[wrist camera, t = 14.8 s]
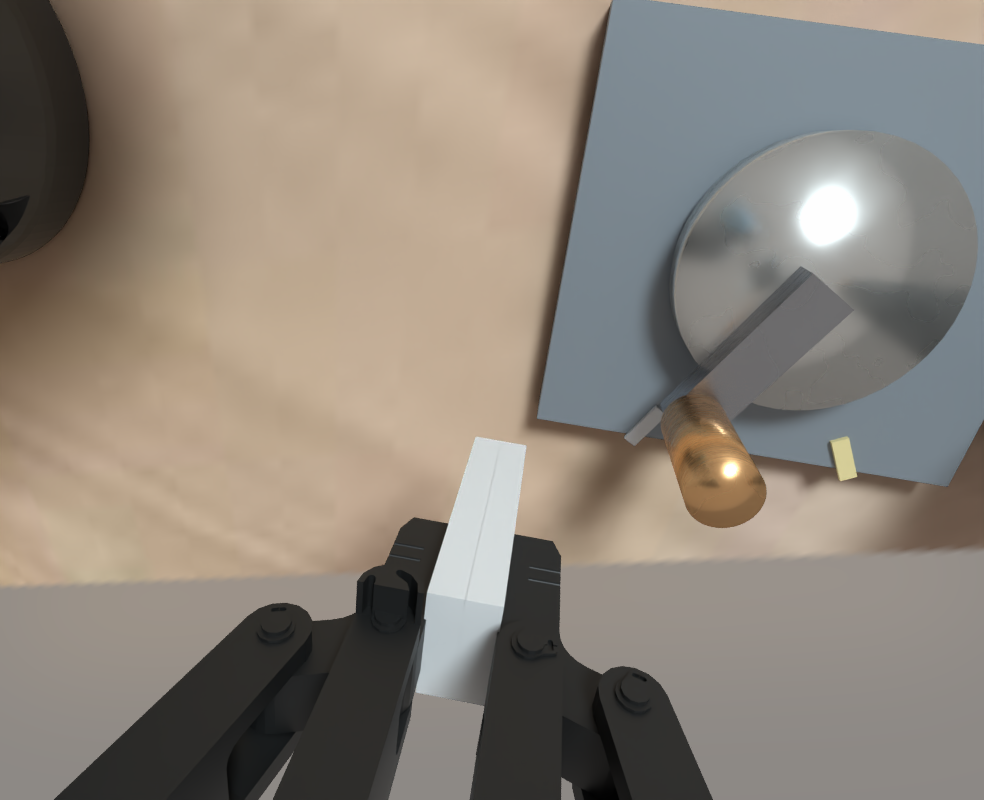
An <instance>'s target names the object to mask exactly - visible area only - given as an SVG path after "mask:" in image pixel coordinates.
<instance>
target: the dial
mask: <svg viewBox="0 0 984 800" xmlns="http://www.w3.org/2000/svg"><path fill="white" fill-rule="evenodd" d="M977 253H978V237H977V227H976V221H975V216H974V212H973V209H972V206H971V203H970V201H969V198H968V195H967V194H966V192H965V190H964V188H963V187H962V185H961V183H960V181H959V180H958V178H957V177H956V176H955V175H954V174H953V172H952V171H951V170H950V169H949V168H948V167H947V165H946V164H944V163H943V162H942V161H941V160H940V159H939V158H937V157H936V156H935V155H934V154H933V153H931V152H929V151H928V150H926V149H924V148H923V147H921V146H919V145H918V144H916V143H914V142H911V141H908V140H906V139H903V138H901V137H898V136H895V135H890V134H885V133H881V132H876V131H862V130H829V131H815V132H810V133H805V134H800V135H796V136H793V137H790V138H787V139H784V140H781V141H778V142H775V143H773V144H771V145H769V146H767V147H764V148H762V149H760V150H758V151H756V152H755V153H753V154H751V155H750V156H748V157H747V158H745V159H743V160H742V161H740V162H739V163H738V164H736V165H735V166H734V167H732V168H731V169H730V170H729V171H727V172H726V173H725V174H724V175H723V176H722V177H721V178H720V179H719V180H718V181H717V182H716V183H715V184H714V185H713V186H712V187H711V188H710V189H709V190H708V191H707V192H706V194H705V195H704V196H703V197H702V199H701V200H700V201H699V202H698V204H697V205H696V207H695V208H694V210H693V211H692V213H691V215H690V216H689V218H688V219H687V221H686V223H685V225H684V228H683V230H682V232H681V234H680V236H679V239H678V242H677V245H676V248H675V251H674V254H673V259H672V264H671V270H670V283H669V291H670V304H671V308H672V313H673V317H674V321H675V323H676V326H677V328H678V331H679V334H680V335H681V337H682V339H683V341H684V342H685V344H686V346H687V348H688V350H689V351H690V353H691V355H692V357H693V358H694V360H695V361H696V363H697V364H698V365H699V366H697V367H696V368H695V369H694V370H693V371H692V372H691V373H690V374H689V375H688V376H687V377H686V378H685V379H684V380H683V381H682V382H681V383H680V384H679V385H678V386H677V387H676V388H675V389H674V390H673V391H672V392H671V393H670V394H669V395H668V396H667V397H666V398H665V399H664V400H663V401H662V402H661V403H660V406H661V409H662V411H663V415H662V418H661V431H662V434H663V437H664V440H665V443H666V446H667V450H668V453H669V456H670V459H671V462H672V465H673V468H674V471H675V474H676V477H677V481H678V484H679V487H680V490H681V493H682V496H683V499H684V502H685V505H686V508H687V510H688V512H689V513H690V514H691V516H692V517H693V518H695V519H696V520H697V521H699V522H700V523H702V524H704V525H707V526H711V527H716V528H728V527H734V526H737V525H740V524H743V523H745V522H747V521H748V520H750V519H751V518H753V517H754V516H755V515H756V514H757V513H758V512H759V511H760V509H761V508H762V506H763V504H764V502H765V499H766V485H765V482H764V480H763V478H762V476H761V474H760V473H759V471H758V469H757V467H756V466H755V464H754V462H753V460H752V459H751V457H750V455H749V453H748V452H747V450H746V448H745V446H744V445H743V443H742V441H741V439H740V438H739V436H738V434H737V432H736V430H735V429H734V427H733V425H732V423H731V422H730V421H731V420H733V419H734V418H735V417H736V416H737V415H738V414H739V413H740V412H742V411H743V410H744V409H745V408H746V407H747V406H748V405H749V404H750V403H754V404H757V405H760V406H765V407H769V408H774V409H782V410H815V409H823V408H829V407H834V406H838V405H842V404H846V403H849V402H852V401H855V400H858V399H861V398H864V397H866V396H868V395H870V394H872V393H874V392H877V391H879V390H881V389H883V388H884V387H886V386H888V385H889V384H891V383H893V382H895V381H896V380H898V379H899V378H901V377H902V376H903V375H905V374H906V373H907V372H909V371H910V370H912V369H913V368H914V367H915V366H916V365H917V364H919V363H920V362H921V361H922V360H923V359H924V358H925V357H926V356H927V355H929V353H930V352H931V351H932V350H933V349H934V348H935V347H936V346H937V344H938V343H939V342H940V341H941V340H942V339H943V337H944V336H945V335H946V333H947V332H948V330H949V329H950V328H951V326H952V325H953V323H954V322H955V320H956V318H957V316H958V314H959V313H960V311H961V309H962V307H963V305H964V303H965V300H966V298H967V295H968V293H969V290H970V288H971V285H972V281H973V277H974V273H975V269H976V261H977Z"/></svg>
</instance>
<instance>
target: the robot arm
mask: <svg viewBox="0 0 984 800" xmlns="http://www.w3.org/2000/svg"><path fill="white" fill-rule="evenodd" d="M88 152H89V128H88V116H87V108H86V102H85V96H84V91H83V87H82V83H81V78H80V75H79V71H78V68H77V65H76V61H75V59H74V56H73V53H72V50H71V47H70V45H69V42H68V40H67V38H66V35H65V33H64V30H63V28H62V26H61V24H60V22H59V20H58V18H57V16H56V14H55V12H54V10H53V8H52V6H51V5H50V3H49V1H48V0H0V263H4V262H8V261H12V260H15V259H18V258H21V257H24V256H26V255H28V254H30V253H32V252H34V251H36V250H37V249H39V248H41V247H42V246H43V245H45V244H46V243H47V242H48V241H50V240H51V239H52V238H53V237H54V236H55V235H56V234H57V233H58V232H59V231H60V229H61V228H62V227H63V226H64V224H65V223H66V222H67V220H68V219H69V217H70V215H71V213H72V212H73V210H74V208H75V206H76V203H77V201H78V199H79V196H80V193H81V190H82V187H83V183H84V179H85V175H86V169H87V163H88ZM526 446H527V445H521V444H515V443H509V442H503V441H498V440H492V439H486V438H480V437H476V438H475V441H474V444H473V447H472V450H471V454H470V457H469V460H468V463H467V466H466V470H465V473H464V476H463V479H462V482H461V486H460V489H459V492H458V495H457V498H456V502H455V505H454V508H453V511H452V514H451V517H450V521H449V524H447V523H442V522H436V521H431V520H425V519H420V518H413V519H411V520H410V521H409V522H408V523H406V524H405V525H404V526H403V527H401V528H400V531H399V533H398V535H397V538H396V540H395V543H394V545H393V547H392V549H391V552H390V555H389V556H388V558H387V561H386V563H385V565H382V566H377V567H373V568H372V569H370V570H368V571H366V572H365V573H363V575H362V576H361V577H360V578H359V580H358V581H357V597H356V613H354V614H352V615H349V616H347V617H344V618H339V619H333V620H322V621H312V619H311V617H310V615H309V614H308V612H307V611H306V610H304V609H302V608H301V607H300V606H297V605H293V604H288V603H277V604H271V605H267V606H265V607H262V608H259V609H257V610H256V611H255V612H253V613H252V614H250V615H249V616H247V617H246V618H245V619H244V620H243V621H242V622H241V623H240V624H239V625H238V626H237V627H236V628H235V629H234V630H233V631H232V632H231V633H229V635H227V636H226V637H225V638H224V639H223V640H222V641H221V642H220V643H219V644H218V645H217V646H216V647H215V648H214V649H213V650H211V651H210V653H208V654H207V655H206V656H205V657H204V658H203V659H202V660H201V661H200V662H199V663H198V664H197V665H196V666H195V667H194V668H192V669H191V670H190V671H189V672H188V673H187V674H186V675H185V676H184V677H183V678H182V679H181V680H180V681H179V682H178V683H177V684H176V685H175V686H173V688H171V689H170V690H169V691H168V692H167V693H166V694H165V695H164V696H163V697H162V698H161V699H160V700H159V701H158V702H156V704H154V705H153V706H152V707H151V708H150V709H149V710H148V711H147V712H146V713H145V714H144V715H143V716H142V717H141V718H140V719H139V720H137V721H136V722H135V723H134V724H133V725H132V726H131V727H130V728H129V729H128V730H127V731H126V732H125V733H124V734H123V735H122V736H121V737H120V738H118V739H117V740H116V741H115V742H114V743H113V744H112V745H111V746H110V747H109V748H108V749H107V750H106V751H105V752H104V753H103V754H101V755H100V756H99V757H98V758H97V759H96V760H95V761H94V762H93V763H92V764H91V765H90V766H89V767H88V768H87V769H86V770H85V771H84V772H82V773H81V774H80V775H79V776H78V777H77V778H76V779H75V780H74V781H73V782H72V783H71V784H70V785H69V786H68V787H67V788H66V789H64V790H63V791H62V792H61V793H60V794H59V795H58V796H57V797H56V798H55V799H54V800H258V799H259V798H260V797H261V795H262V794H263V793H264V791H265V790H266V789H267V787H268V786H269V784H270V783H271V782H272V780H273V779H274V778H275V776H276V775H277V774H278V772H279V771H280V770H281V768H282V767H283V766H284V764H285V763H286V761H287V760H288V759H289V757H290V756H291V755H292V753H293V752H294V753H293V755H292V757H291V760H290V762H289V764H288V766H287V769H286V771H285V773H284V776H283V778H282V780H281V782H280V784H279V787H278V789H277V791H276V793H275V796H274V798H273V800H388V798H389V794H390V791H391V787H392V783H393V780H394V776H395V772H396V768H397V765H398V761H399V757H400V754H401V750H402V746H403V743H404V739H405V735H406V732H407V728H408V724H409V721H410V717H411V708H412V699H413V696H414V692H415V688H416V692H417V693H422V694H427V695H432V696H437V697H442V698H447V699H452V700H457V701H462V702H467V703H473V704H477V705H483V706H485V707H484V713H483V719H482V724H481V730H480V735H479V741H478V746H477V752H476V755H477V756H476V762H475V769H474V775H473V782H472V788H471V795H470V800H561V777H562V778H564V779H566V780H567V781H569V782H571V783H572V789H573V793H574V797H575V800H713V799H712V796H711V794H710V792H709V790H708V788H707V785H706V783H705V781H704V778H703V776H702V774H701V771H700V769H699V767H698V764H697V762H696V760H695V758H694V755H693V753H692V751H691V748H690V746H689V744H688V742H687V739H686V737H685V735H684V733H683V730H682V728H681V726H680V723H679V721H678V719H677V716H676V714H675V712H674V710H673V707H672V705H671V703H670V700H669V698H668V696H667V694H666V693H665V691H664V690H663V688H662V686H661V685H660V684H659V683H658V682H657V681H656V680H655V679H653V678H652V677H651V676H650V675H649V674H647V673H644V672H642V671H640V670H638V669H636V668H631V667H624V666H621V667H615V668H611V669H610V670H608V671H607V672H605V673H604V674H603V675H602V674H600V673H598V672H595V671H593V670H591V669H589V668H587V667H586V666H584V665H582V664H581V663H579V662H577V661H576V660H575V659H574V658H573V657H572V656H570V655H569V653H568V652H567V651H566V650H565V648H564V646H563V644H562V642H561V639H560V634H559V620H560V571H561V555H560V554H559V552H558V550H557V548H556V546H555V544H554V543H553V541H548V540H543V539H537V538H532V537H526V536H521V535H515V534H514V532H515V525H516V518H517V511H518V503H519V496H520V489H521V482H522V475H523V468H524V460H525V453H526ZM416 685H417V687H416Z"/></svg>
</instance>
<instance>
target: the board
mask: <svg viewBox="0 0 984 800" xmlns="http://www.w3.org/2000/svg"><path fill="white" fill-rule="evenodd" d="M829 130H862V131H876V132H881V133H885V134H890V135H895V136H898V137H901V138H903V139H906V140H908V141H911V142H914V143H916V144H918V145H919V146H921V147H923V148H924V149H926V150H928V151H929V152H931V153H933V154H934V155H935V156H936V157H937V158H939V159H940V160H941V161H942V162H943V163H944V164H946V165H947V167H948V168H949V169H950V170H951V171H952V172H953V174H954V175H955V176H956V177H957V178H958V180H959V181H960V183H961V185H962V187H963V188H964V190H965V192H966V194H967V195H968V198H969V201H970V203H971V206H972V209H973V212H974V216H975V221H976V227H977V237H978V253H977V261H976V269H975V273H974V277H973V281H972V285H971V288H970V290H969V293H968V295H967V298H966V300H965V303H964V305H963V307H962V309H961V311H960V313H959V314H958V316H957V318H956V320H955V322H954V323H953V325H952V326H951V328H950V329H949V330H948V332H947V333H946V335H945V336H944V337H943V339H942V340H941V341H940V342H939V343H938V344H937V346H936V347H935V348H934V349H933V350H932V351H931V352H930V353H929V355H927V356H926V357H925V358H924V359H923V360H922V361H921V362H920V363H919V364H917V365H916V366H915V367H914V368H913V369H912V370H910V371H909V372H907V373H906V374H905V375H903V376H902V377H901V378H899V379H898V380H896V381H895V382H893V383H891V384H889V385H888V386H886V387H884V388H883V389H881V390H879V391H877V392H874V393H872V394H870V395H868V396H866V397H864V398H861V399H858V400H855V401H852V402H849V403H846V404H842V405H838V406H834V407H829V408H823V409H815V410H782V409H774V408H769V407H765V406H760V405H757V404H754V403H750V404H749V405H748V406H747V407H746V408H745V409H744V410H743V411H742V412H740V413H739V414H738V415H737V416H736V417H735V418H734V419H733V420H731V421H730V422H731V423H732V425H733V427H734V429H735V430H736V432H737V434H738V436H739V438H740V439H741V441H742V443H743V445H744V446H745V448H746V450H747V452H748V453H749V454H753V455H759V456H765V457H771V458H777V459H783V460H789V461H795V462H801V463H807V464H813V465H819V466H825V467H831V468H836V471H837V475H838V479H839V480H840V481H843V480H847V479H851V478H855V477H857V473H856V472H861V473H867V474H873V475H879V476H885V477H891V478H897V479H903V480H909V481H915V482H921V483H927V484H933V485H939V486H946V487H948V485H949V483H950V481H951V480H952V478H953V476H954V474H955V472H956V470H957V468H958V467H959V465H960V463H961V461H962V459H963V457H964V455H965V454H966V452H967V450H968V448H969V446H970V444H971V442H972V440H973V439H974V437H975V435H976V433H977V431H978V429H979V427H980V426H981V424H982V422H983V420H984V45H981V44H974V43H966V42H959V41H951V40H944V39H936V38H929V37H921V36H914V35H906V34H899V33H891V32H884V31H876V30H869V29H861V28H853V27H846V26H838V25H831V24H823V23H816V22H808V21H801V20H793V19H786V18H778V17H771V16H763V15H756V14H748V13H741V12H733V11H726V10H718V9H710V8H703V7H695V6H688V5H680V4H673V3H665V2H658V1H650V0H612V2H611V5H610V10H609V16H608V22H607V27H606V33H605V38H604V44H603V49H602V55H601V60H600V66H599V71H598V77H597V82H596V88H595V93H594V99H593V105H592V110H591V116H590V121H589V127H588V132H587V138H586V143H585V149H584V154H583V160H582V165H581V171H580V177H579V182H578V188H577V193H576V199H575V204H574V210H573V215H572V221H571V226H570V232H569V237H568V243H567V249H566V254H565V260H564V265H563V271H562V276H561V282H560V287H559V293H558V298H557V304H556V309H555V315H554V320H553V326H552V332H551V337H550V343H549V348H548V354H547V359H546V365H545V370H544V376H543V381H542V387H541V392H540V398H539V404H538V413H537V419H543V420H549V421H555V422H561V423H567V424H573V425H579V426H585V427H591V428H597V429H603V430H609V431H615V432H621V433H627V434H626V435H625V436H624V439H626V440H627V441H628V442H629V443H631V444H632V445H633V446H635V445H636V444H637V443H638V442H639V441H641V440H642V439H643V438H644V437H651V438H657V439H663V440H664V437H663V434H662V431H661V418H662V415H663V411H662V409H661V406H660V403H661V402H662V401H663V400H664V399H665V398H666V397H667V396H668V395H669V394H670V393H671V392H672V391H673V390H674V389H675V388H676V387H677V386H678V385H679V384H680V383H681V382H682V381H683V380H684V379H685V378H686V377H687V376H688V375H689V374H690V373H691V372H692V371H693V370H694V369H695V368H696V367H697V366H699V365H698V364H697V363H696V361H695V360H694V358H693V357H692V355H691V353H690V351H689V350H688V348H687V346H686V344H685V342H684V341H683V339H682V337H681V335H680V334H679V331H678V328H677V326H676V323H675V321H674V317H673V313H672V308H671V304H670V291H669V283H670V270H671V264H672V259H673V254H674V251H675V248H676V245H677V242H678V239H679V236H680V234H681V232H682V230H683V228H684V225H685V223H686V221H687V219H688V218H689V216H690V215H691V213H692V211H693V210H694V208H695V207H696V205H697V204H698V202H699V201H700V200H701V199H702V197H703V196H704V195H705V194H706V192H707V191H708V190H709V189H710V188H711V187H712V186H713V185H714V184H715V183H716V182H717V181H718V180H719V179H720V178H721V177H722V176H723V175H724V174H725V173H726V172H727V171H729V170H730V169H731V168H732V167H734V166H735V165H736V164H738V163H739V162H740V161H742V160H743V159H745V158H747V157H748V156H750V155H751V154H753V153H755V152H756V151H758V150H760V149H762V148H764V147H767V146H769V145H771V144H773V143H775V142H778V141H781V140H784V139H787V138H790V137H793V136H796V135H800V134H805V133H810V132H815V131H829Z"/></svg>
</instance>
